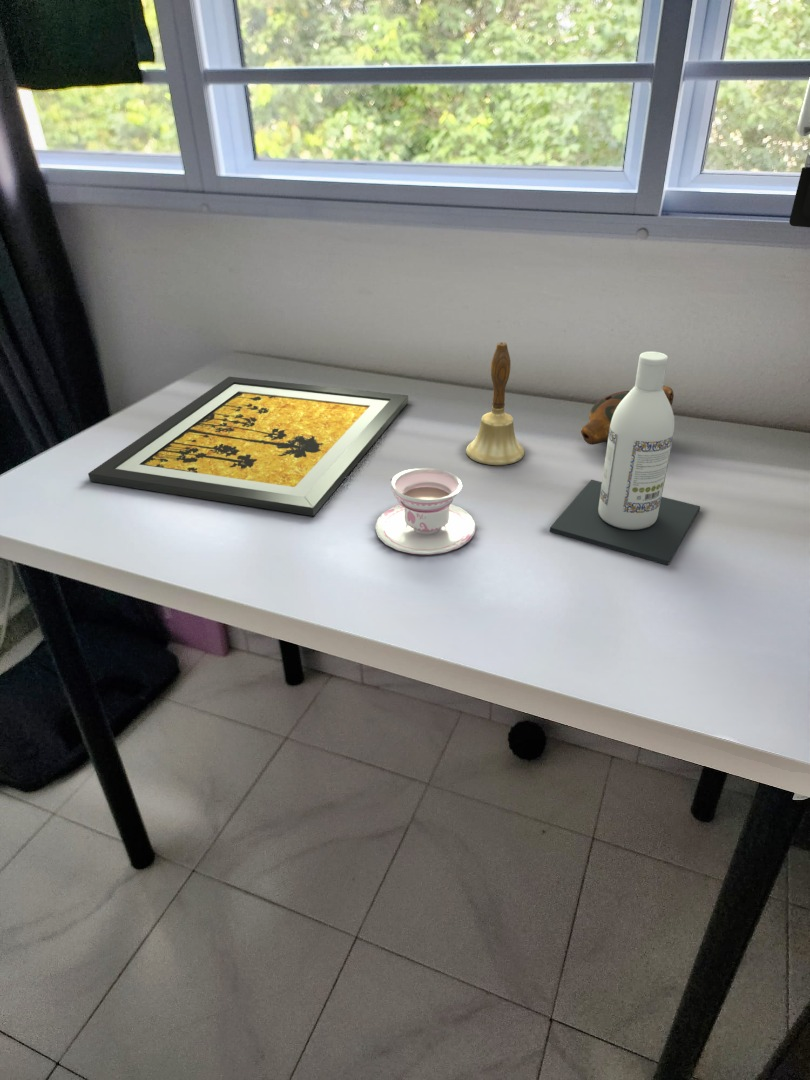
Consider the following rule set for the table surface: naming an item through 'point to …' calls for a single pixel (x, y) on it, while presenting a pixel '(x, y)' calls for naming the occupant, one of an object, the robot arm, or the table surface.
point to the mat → (643, 543)
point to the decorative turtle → (608, 416)
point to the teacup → (425, 513)
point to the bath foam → (638, 449)
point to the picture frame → (257, 444)
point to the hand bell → (497, 420)
